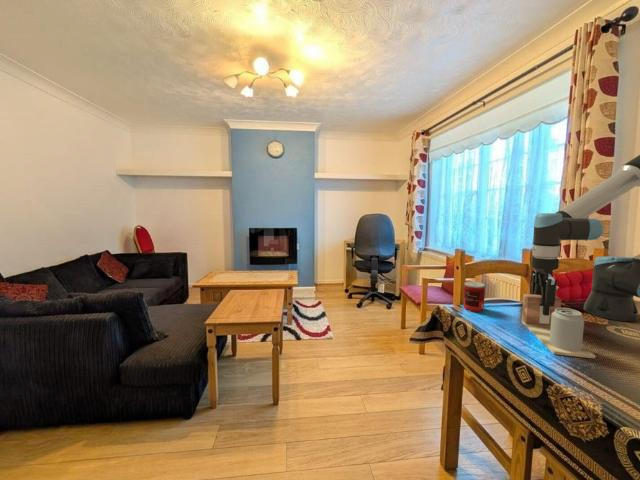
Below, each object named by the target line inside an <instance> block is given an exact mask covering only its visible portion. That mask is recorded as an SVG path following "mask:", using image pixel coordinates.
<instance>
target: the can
mask: <svg viewBox="0 0 640 480" xmlns="http://www.w3.org/2000/svg"><path fill="white" fill-rule="evenodd" d="M584 327H585V318H584V317H583V314H582V312H580V311H579V310H576V309H573V308H568V307H561V308H556V309H555V311H554V312H553V313H552V318H551V329H550V341H549V342H550V344H551V345H553V346H555V347H557V348H559V349H562V350H566V351H573V352H577V351H581V349H582V346H583V337H584V329H585V328H584Z"/></svg>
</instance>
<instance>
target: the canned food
mask: <svg viewBox="0 0 640 480" xmlns="http://www.w3.org/2000/svg"><path fill="white" fill-rule="evenodd" d="M463 285H464V286H463V289H464V290H463V308H465V309H464V310H466V311H468V312H470V313H471V312H472V313H481V312H483V311H484V309H485V296H486V285H485V284H484V283H483V282H481V281H465V282H464V284H463Z"/></svg>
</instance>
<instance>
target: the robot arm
mask: <svg viewBox="0 0 640 480" xmlns="http://www.w3.org/2000/svg"><path fill="white" fill-rule="evenodd" d="M635 187H640V154H638V155H637V156H636V157H634V158H632V159H630V160H629V161H627V162H626V163H624V164H622V165H621V166H620V167H618V169H617V172H616V173H613V175H611V176H610V177H608V178H606V179H605V180H603V181H602V182H601V183H599V184H598V185H596V186H594V187H593V188H591V189H590V190H588V191H587V192H585V193H584V194H582V195H581V196H579V197H577V198H576V199H575V200H573V201H572V202H570V203H568V204H567V205H565V206H564V207H562V208H561V209H559V210H558V211H556V212H551V213H550V212H544V213H537V214H536V215H535V217H534V222H533V239H532V247H531V250H532V253H531V254H532V257H531V263H530V264H531V267H532V268H533V269H535V270H531V284H532V285H531V287H530V290H531V291H530V294H532V295H541V297H542V304H539V305H540V314H539V323H543V324H549V315H550V307H551V306H553V307H554V304H555V296H556V293H557V292H556V286H557V285H558V278H554V274H553V271H554V270H555V271H556V270H558V269H559V265H560V260H559V257H560V251H561V241H586V242H587V241H594V240H597V239H599V238H601V236H602V235H603V233H604V226H603V225H604V224H603V223H602V222H601V221H600V220H599V219H597V218H594V217H591V218H589V217H590V216H592V215H593V214H595V213H596V212H598V211H600V210H601V209H603V208H604V207H606V206H607V205H609V204H611V203H612V202H614V201H615V200H617V199H618V198H621V196H623V195H625V194H626V193H628V192H630V191H631V190H632V189H634V188H635ZM592 266H593V270H592V281H591V291H590V293H589V295H588V297H587V299H586V301H585V302H584V304H583V311H585V312H586V313H588V314H590V315H593V316H596V317H599V318H603V319H608V320H613V321H618V322H619V321H621V322H635V321H638V320H639V311H638V309H637V306H636V302H635V299H634V297H636V298H640V253H639V254H637V255H635V256H612V255H611V256H603V255H602V256H597V257H596V258H595V259H594V263H593V265H592Z"/></svg>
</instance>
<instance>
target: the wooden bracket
mask: <svg viewBox="0 0 640 480" xmlns="http://www.w3.org/2000/svg"><path fill="white" fill-rule="evenodd" d="M522 295H523V296H522V297H523V298H522V311H521V323H522V324H523V325H524V326H525V327H526V328H527V329H528V330H529V331H530V332H531V333H532V335H534V336H535V337H536V338H537V339H538V340H539V341H540V342H541V343H542V344H543V345H544V346H545V347H546V348H547V349H548V350H549V351H550V352H551V353H552V354H553V355H559V356H560V355H561V356H567V357H568V356H569V357H576V358H577V357H578V358H587V359H596V355H595V354H594V353H592V352H591V351H590V350H589V349H587V347H584V345H582V349H581V351H577V352H573V351H566V350H562V349H559V348H557V347H555V346H553V345H551V344H550V342H549V341H550V329H551V318H552V313H553V312H554V311H555V309H556V308H562V306H561V305H562V299H561V298H560V297H559V296H556V295H555V304H554V307H553V306H551V307H550V315H549V324H543V323H539V314H540V305H539V304H542V297H541V295H532V294H531V293H530V294H529V293H523V294H522Z"/></svg>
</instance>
